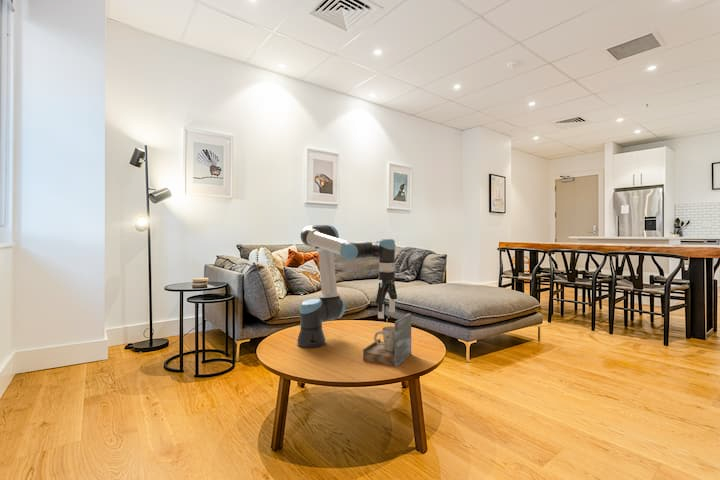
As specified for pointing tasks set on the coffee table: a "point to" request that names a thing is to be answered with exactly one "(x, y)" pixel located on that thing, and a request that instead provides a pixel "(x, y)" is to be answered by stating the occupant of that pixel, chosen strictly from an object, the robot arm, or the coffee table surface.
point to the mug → (387, 338)
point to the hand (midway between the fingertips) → (386, 315)
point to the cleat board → (401, 345)
